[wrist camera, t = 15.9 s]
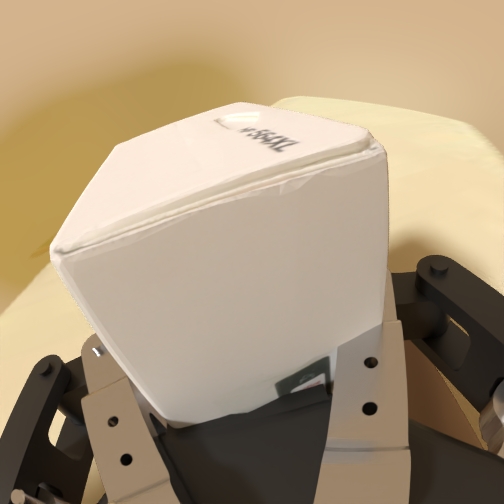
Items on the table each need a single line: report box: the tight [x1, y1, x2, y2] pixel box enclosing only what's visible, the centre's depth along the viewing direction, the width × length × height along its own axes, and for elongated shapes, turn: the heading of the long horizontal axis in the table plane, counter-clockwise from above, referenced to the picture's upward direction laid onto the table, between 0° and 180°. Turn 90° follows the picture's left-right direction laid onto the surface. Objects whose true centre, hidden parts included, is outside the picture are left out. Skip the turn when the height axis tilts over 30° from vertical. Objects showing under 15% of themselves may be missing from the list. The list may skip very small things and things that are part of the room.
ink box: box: [50, 102, 389, 428], centre depth 10 cm, size 9×5×12 cm, turn 18°
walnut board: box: [404, 340, 483, 449], centre depth 17 cm, size 16×26×2 cm, turn 9°
